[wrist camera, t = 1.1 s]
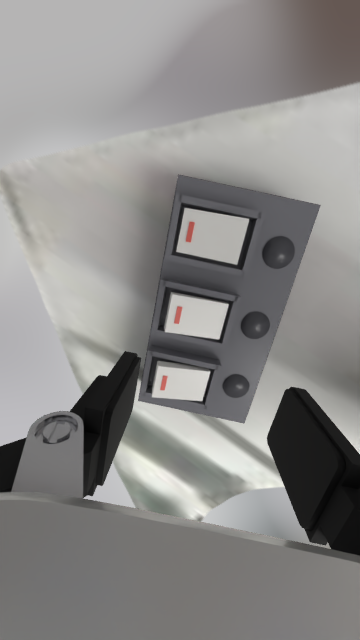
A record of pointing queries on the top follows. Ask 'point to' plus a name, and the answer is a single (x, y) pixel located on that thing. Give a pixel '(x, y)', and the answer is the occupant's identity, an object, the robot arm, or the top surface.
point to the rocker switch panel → (229, 294)
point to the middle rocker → (195, 316)
